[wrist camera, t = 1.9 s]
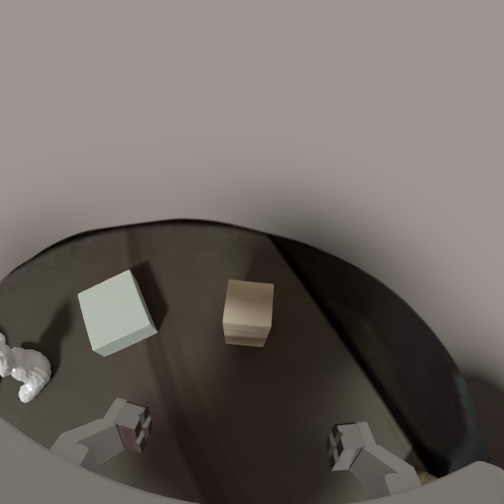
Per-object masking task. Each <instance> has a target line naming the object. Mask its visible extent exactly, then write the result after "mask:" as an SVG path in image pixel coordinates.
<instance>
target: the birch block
mask: <svg viewBox="0 0 504 504" xmlns="http://www.w3.org/2000/svg"><path fill="white" fill-rule="evenodd" d="M273 291H274V284H267V283H257V282H247V281H238V280H229V281H228V288H227V295H226V302H225V309H224V316H223V328H224V335H225V342H226V343H229V344H238V345H247V346H257V347H263V346H264V344H265V341H266V339H267V336H268V334H269V331H270V329H271V323H272V307H273Z"/></svg>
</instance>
